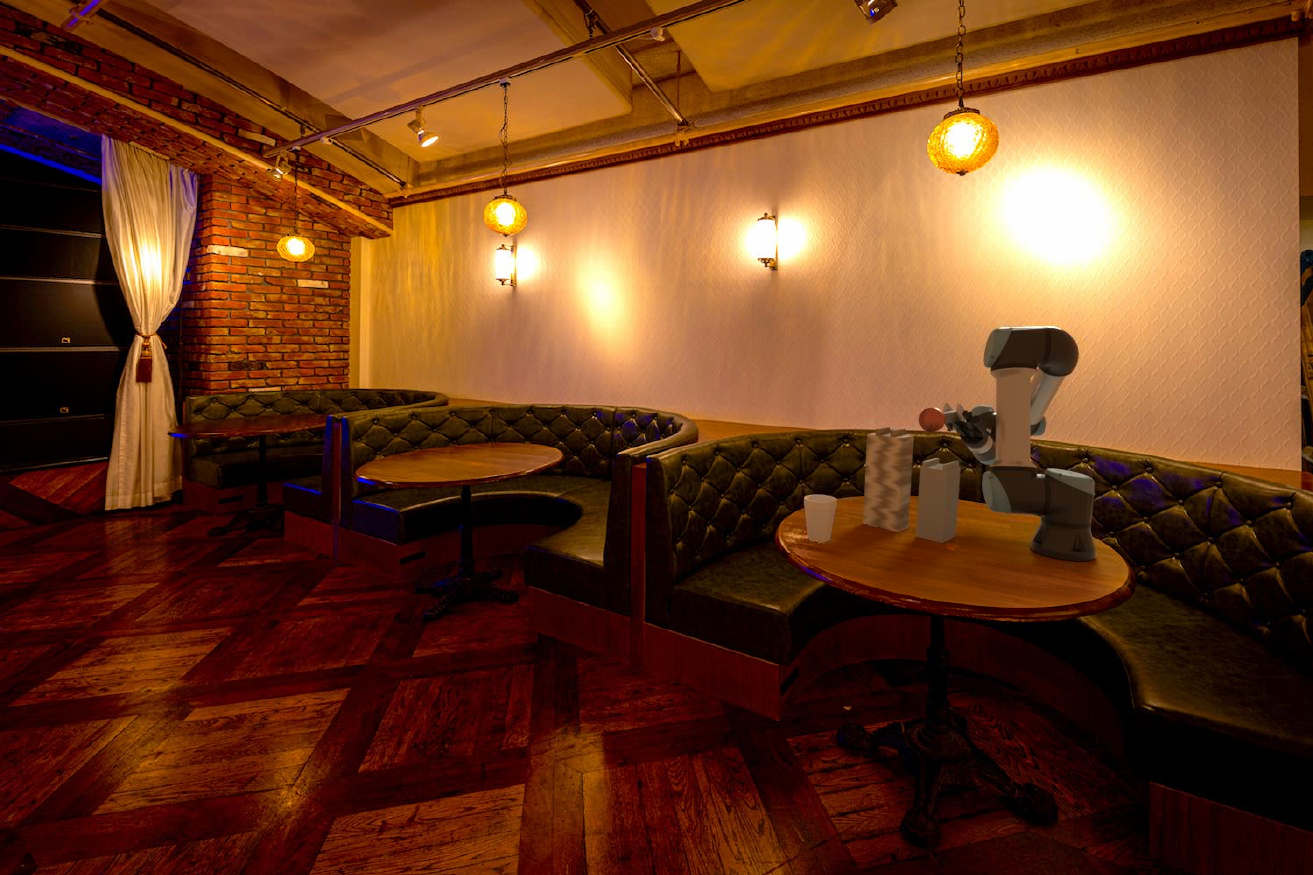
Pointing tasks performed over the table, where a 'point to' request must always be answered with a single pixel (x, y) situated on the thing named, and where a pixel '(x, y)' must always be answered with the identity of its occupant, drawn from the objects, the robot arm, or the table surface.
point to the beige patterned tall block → (888, 479)
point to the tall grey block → (938, 500)
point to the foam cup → (819, 516)
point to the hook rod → (936, 418)
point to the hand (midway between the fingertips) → (951, 407)
